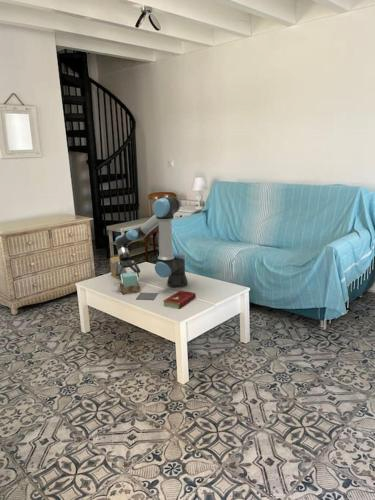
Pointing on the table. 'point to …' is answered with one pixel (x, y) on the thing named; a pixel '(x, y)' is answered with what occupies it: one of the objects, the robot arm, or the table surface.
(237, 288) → the table surface
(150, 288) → the table surface
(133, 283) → the mint green cube
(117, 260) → the sandwich container
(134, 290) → the walnut box
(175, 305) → the hardcover book
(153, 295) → the mat
